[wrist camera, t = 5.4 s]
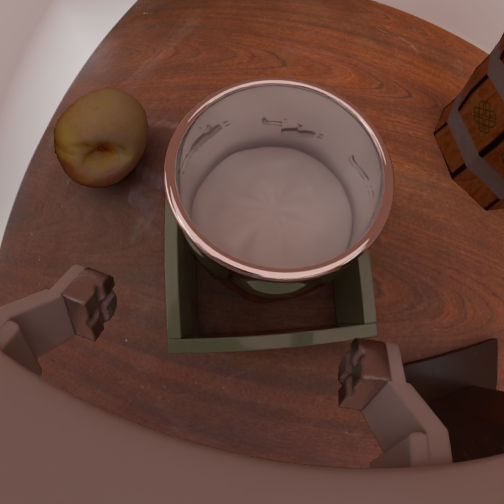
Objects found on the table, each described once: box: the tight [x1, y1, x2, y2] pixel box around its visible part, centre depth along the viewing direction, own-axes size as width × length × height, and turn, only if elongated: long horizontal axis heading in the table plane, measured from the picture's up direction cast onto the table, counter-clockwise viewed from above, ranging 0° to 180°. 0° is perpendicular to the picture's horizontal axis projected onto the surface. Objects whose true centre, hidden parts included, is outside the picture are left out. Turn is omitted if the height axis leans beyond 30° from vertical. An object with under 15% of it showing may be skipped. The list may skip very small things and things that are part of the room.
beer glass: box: [164, 77, 394, 303], centre depth 15 cm, size 7×7×15 cm
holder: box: [165, 193, 378, 353], centre depth 20 cm, size 12×12×6 cm
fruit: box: [54, 88, 148, 188], centre depth 21 cm, size 8×8×8 cm
